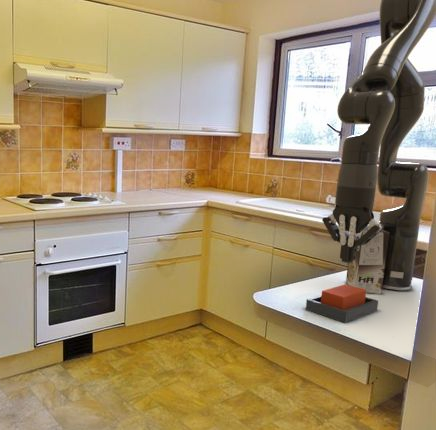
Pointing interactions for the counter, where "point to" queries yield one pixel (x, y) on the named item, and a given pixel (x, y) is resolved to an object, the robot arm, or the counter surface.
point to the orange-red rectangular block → (343, 297)
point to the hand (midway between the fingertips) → (347, 262)
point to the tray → (339, 314)
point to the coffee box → (369, 264)
